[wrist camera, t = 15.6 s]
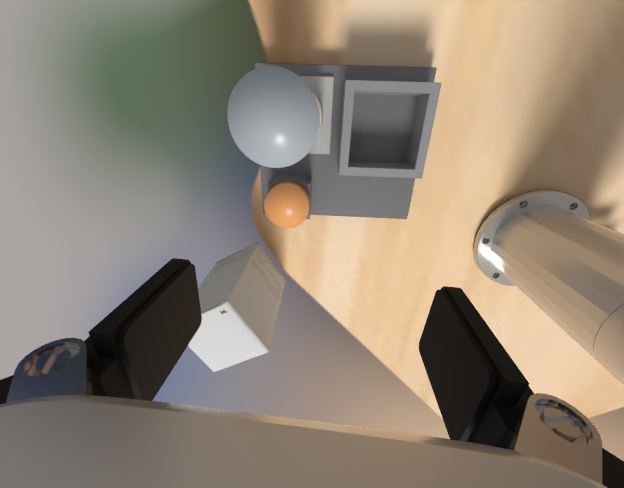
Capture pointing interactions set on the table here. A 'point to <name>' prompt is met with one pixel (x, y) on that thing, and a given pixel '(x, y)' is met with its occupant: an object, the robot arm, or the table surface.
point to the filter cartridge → (274, 116)
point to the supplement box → (238, 308)
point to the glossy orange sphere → (287, 204)
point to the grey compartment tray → (363, 139)
